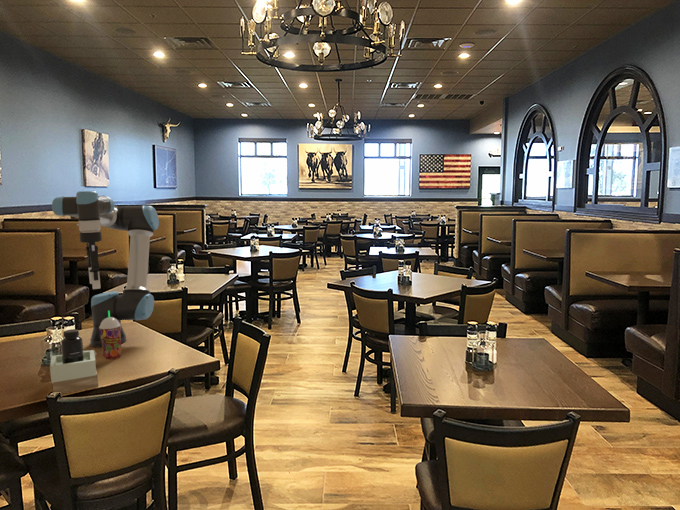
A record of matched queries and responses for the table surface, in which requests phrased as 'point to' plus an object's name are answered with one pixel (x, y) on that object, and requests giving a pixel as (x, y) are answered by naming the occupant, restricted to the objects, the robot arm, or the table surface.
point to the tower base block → (76, 384)
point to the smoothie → (110, 337)
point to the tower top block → (72, 367)
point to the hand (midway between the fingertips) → (95, 286)
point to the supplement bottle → (72, 347)
